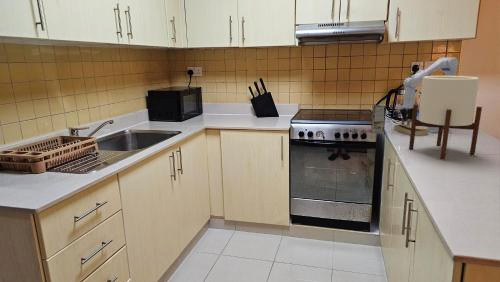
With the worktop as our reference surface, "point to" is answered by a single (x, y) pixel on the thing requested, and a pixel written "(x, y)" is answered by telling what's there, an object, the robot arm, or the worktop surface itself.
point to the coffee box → (378, 119)
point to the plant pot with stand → (447, 108)
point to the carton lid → (410, 124)
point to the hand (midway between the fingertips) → (406, 121)
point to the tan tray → (408, 130)
